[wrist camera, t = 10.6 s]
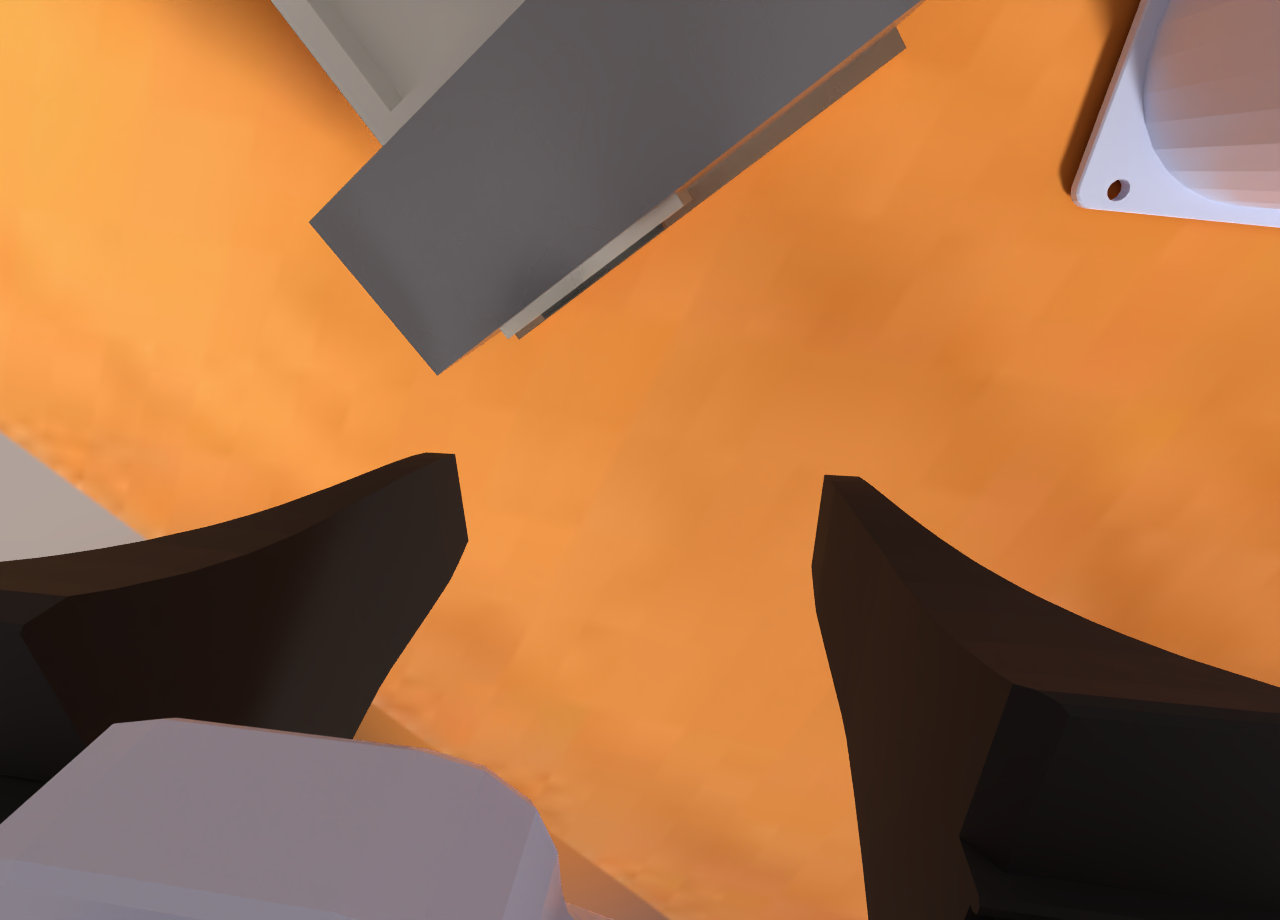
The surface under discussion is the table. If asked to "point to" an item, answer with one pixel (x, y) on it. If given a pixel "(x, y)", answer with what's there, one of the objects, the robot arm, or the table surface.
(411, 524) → the robot arm
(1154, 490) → the table surface
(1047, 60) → the table surface
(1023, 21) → the table surface
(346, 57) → the tray
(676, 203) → the mounted housing
